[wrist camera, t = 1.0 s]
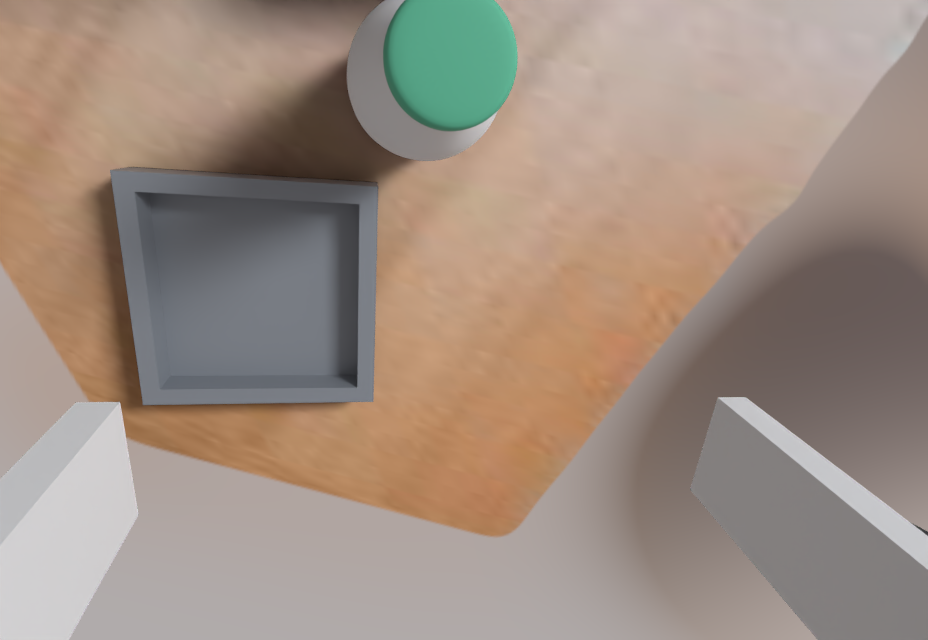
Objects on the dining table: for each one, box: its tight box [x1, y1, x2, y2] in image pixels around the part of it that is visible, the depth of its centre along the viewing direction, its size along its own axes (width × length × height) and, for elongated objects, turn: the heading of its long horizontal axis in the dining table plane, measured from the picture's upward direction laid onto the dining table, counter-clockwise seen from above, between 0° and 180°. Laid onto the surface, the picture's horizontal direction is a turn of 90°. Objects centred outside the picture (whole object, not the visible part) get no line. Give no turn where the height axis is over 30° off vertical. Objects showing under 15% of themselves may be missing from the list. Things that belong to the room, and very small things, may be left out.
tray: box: [110, 167, 378, 405], centre depth 37 cm, size 16×16×3 cm
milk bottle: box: [347, 0, 517, 161], centre depth 27 cm, size 8×8×20 cm
